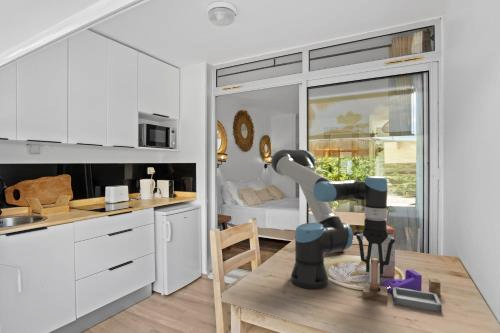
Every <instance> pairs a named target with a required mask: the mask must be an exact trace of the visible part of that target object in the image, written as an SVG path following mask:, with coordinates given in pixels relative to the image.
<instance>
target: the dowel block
mask: <svg viewBox="0 0 500 333" xmlns="http://www.w3.org/2000/svg"><path fill="white" fill-rule="evenodd" d="M362 290H363V291H362V294H363V296H362V298H363V299H364V300H368V301H369V300H370V301H376V302H382V303H385V304H386V303H387V304H388V303H389V302H388V301H389V300H388V299H389V298H388V290H387V287H386V286H382V285H380V284H378V291H372V290H370V283H367V282H364V283H363V288H362Z"/></svg>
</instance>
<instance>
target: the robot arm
mask: <svg viewBox="0 0 500 333" xmlns="http://www.w3.org/2000/svg"><path fill="white" fill-rule="evenodd" d="M315 162H316V158H315V156H314V155H313V153H312V152H311V151H309V150H304V149H296V150H295V149H280V150H278V151H276V152H275V153H274V154H273V155H272V156H271V160H270V164H271V167H272V170H273V171H274V172H275V173H276V174H278V175H280V176H283V177H284V176H286V177H288V178H289V179H291V180H293V181H294V182H295V183H297V184H299V186H300V189H301V190H302V193H303V195H304V197H305V200H306V202H307V204H308V207H309V209H310V211H311V213H312V216H313V217H314V220H315V222H311V223H310V222H307V223H303V224H300V225H298V226H297V227H296V229H295V235H294V240H295V243H294V245H295V246H294V247H295V250H294V252H295V254H294V255H295V256H294V258H295V261H294V265H293V267H292V271H291V274H290V281H291V283H292V284H294V285H295V286H296V287H298V288H302V289H309V290H319V289H323V288H326V287H327V286H328V285H329V276H328V273H327V269H326V266H325V255H327V254H333V253H342V252H341V251H343V250H344V251H346V250H348V249H350V247H351V246H352V245H353V240H354V233H353V230H352V228H351V226H350V224H347V223H346V222H342V220H341V218H340V216H339V215H336V214H335V213H334V212H333V210H332V208H331V205H330V204H329V202H336V201H339V202H340V201H344V200H345V201H350V200H356V201H358V200H359V201H364V217H365V218H364V219H363V220H364V221H363V222H364V223H363V224H364V226H363V231H362V233H361V232H360V233H357V234H356V235H355V238H356V239H357V241H358V248H359V255H360V261H361V262H362V263H365V264H366V265H365V272H367V273H368V274H369V277H368V278H369V283H370V282H371V279H372V264H371V249H372V244H378V251H379V262H380V264H379V265H378V270H377V283H378V285H380V284H381V283H380V277H381V275H380V274H383V266H384V265H389V260H390V255H391V249H392V245H393V243H394V242H395V243H396V238H395V239H394V238H393V237H390V236H388V234H387V225H388V224H387V223H388V222H387V218H388V217H387V216H388V206H387V204H388V190H389V188H388V180H387V178H386V177H384V176H366V177H365V179H364V181H362V180H354V179H343V180H331V179H329V178H327V177H325V176H323V175H321V174H320V173H317V172H315V170H316V169H315V167H316V163H315ZM364 238H365V240H366V241H367V242H368V244H367V252H366V257H365V251H364V250H365V249H364V244H363V243H364V242H363V240H364ZM386 238H387V239H388V240H387V242H388V247H387V252H386V258H385V260H384V261H383V255H382V245H381V244H382V243H383V242H384V241H385V240H386ZM344 251H343V252H344Z"/></svg>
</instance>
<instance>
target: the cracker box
mask: <svg viewBox="0 0 500 333" xmlns="http://www.w3.org/2000/svg"><path fill="white" fill-rule="evenodd" d="M387 234H388V236H390V237H393V238H394V239H395V240H396V229H395V228H393V227H392V226H389V225H388V224H387ZM387 240H388V239H387V238H386V240H385V241H384V242H383V243H382V244H381V245H382V255H383V261H384V260H385V258H386V252H387V247H388V242H387ZM372 258H375V259H378V260H379V251H378V244H372V249H371V257H370V260H371V259H372ZM395 261H396V241H395V242H394V243H393V245H392V249H391V255H390V260H389V265H384V266H383V274H380V277H386V278H387V277H388V278H395V277H396V276H395V272H396V262H395ZM379 264H380V262H379Z"/></svg>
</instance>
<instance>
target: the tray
mask: <svg viewBox="0 0 500 333" xmlns="http://www.w3.org/2000/svg"><path fill="white" fill-rule="evenodd" d="M391 294H392V298H393V299H392V300H393V304H394V305H398V306H403V307H408V308H414V309H415V308H416V309H421V310H424V311H426V310H427V311H431V312H437V313H442V310H443V309H442V307H443V306H442V303H441V300H440V298H439V296H437V294H436V293H430V292H429V291H423V290H421V291H417V290H410V289H404V288H398V287H393V290H392V293H391Z"/></svg>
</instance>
